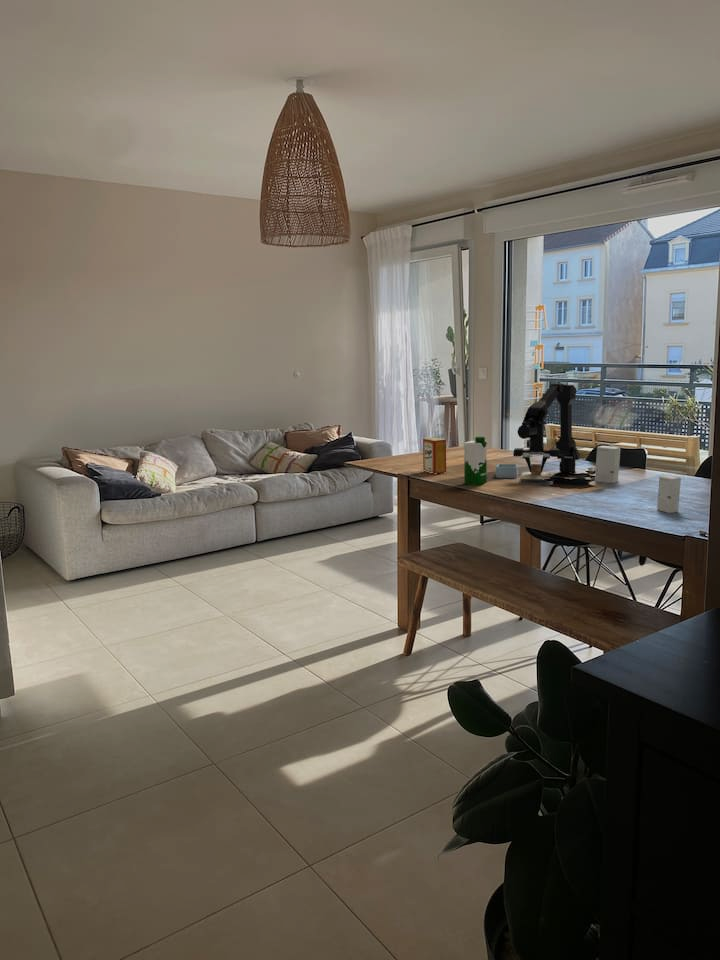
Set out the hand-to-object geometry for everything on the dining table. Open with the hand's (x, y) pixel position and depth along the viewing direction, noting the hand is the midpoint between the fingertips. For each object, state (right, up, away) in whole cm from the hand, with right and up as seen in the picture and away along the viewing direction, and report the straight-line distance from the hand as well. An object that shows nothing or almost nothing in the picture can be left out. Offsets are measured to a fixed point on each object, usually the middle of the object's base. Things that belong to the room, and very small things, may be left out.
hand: (536, 472), depth 320 cm
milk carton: (-25, -5, +2) cm, 26 cm away
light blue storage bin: (-9, -2, +15) cm, 18 cm away
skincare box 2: (+32, -14, -58) cm, 68 cm away
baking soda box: (-40, 0, +31) cm, 51 cm away
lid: (0, -2, 0) cm, 2 cm away
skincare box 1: (+29, -4, -3) cm, 30 cm away
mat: (0, -4, +1) cm, 4 cm away
